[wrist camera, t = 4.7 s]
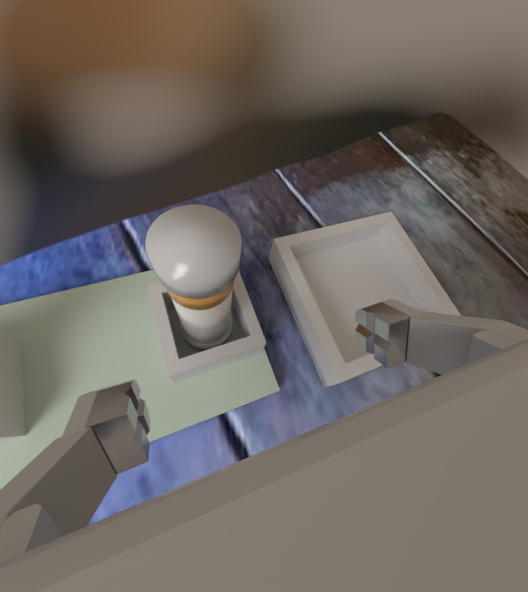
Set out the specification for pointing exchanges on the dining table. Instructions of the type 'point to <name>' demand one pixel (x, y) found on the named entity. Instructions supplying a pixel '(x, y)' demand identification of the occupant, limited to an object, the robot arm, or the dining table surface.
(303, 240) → the parts tray
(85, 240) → the dining table surface
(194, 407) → the fuse board
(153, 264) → the orange-banded cylinder plug
